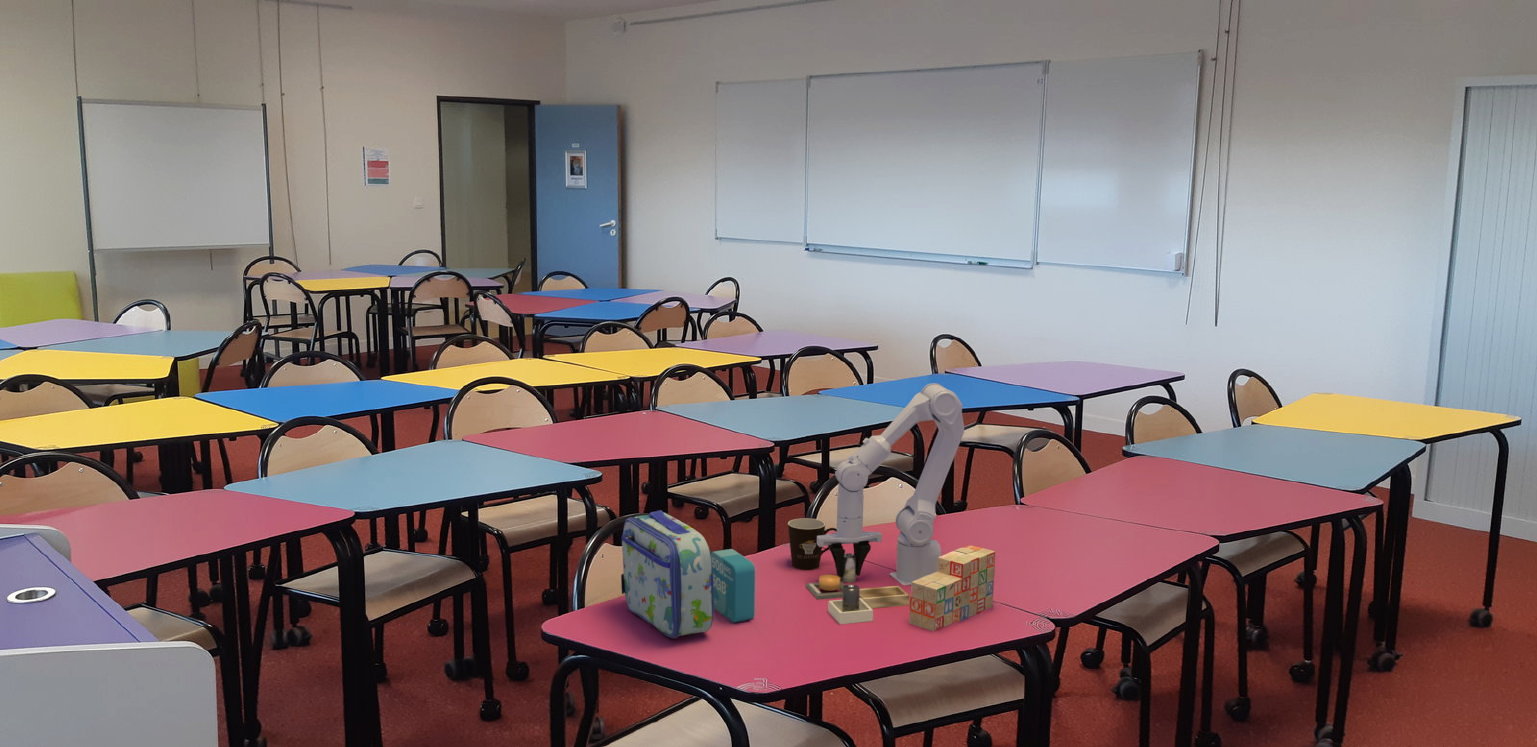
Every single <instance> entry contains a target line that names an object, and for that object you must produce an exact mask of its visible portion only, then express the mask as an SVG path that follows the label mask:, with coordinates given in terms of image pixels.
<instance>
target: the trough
mask: <svg viewBox="0 0 1537 747" xmlns="http://www.w3.org/2000/svg"><path fill="white" fill-rule="evenodd" d="M859 598H861V599H862V600H863V601H864V602H865V603H866V604H867V605H868V606H869V607H870V608H871V609H880V608H881V609H883V608H892V607H904V606H910V595H909V594H908V592H906V591H905V590H904V589H903V588H902V587H901V586H900V585H894V586H881V587H871V588H870V587H868V588H860V593H859Z"/></svg>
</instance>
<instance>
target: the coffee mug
mask: <svg viewBox="0 0 1537 747" xmlns="http://www.w3.org/2000/svg"><path fill="white" fill-rule="evenodd" d="M787 526H788V527H787V528H788V537H789V538H788V539H789V548H790V559H791V566H792V567H793V568H794V569H796V570H800V571H801V570H802V571H812V570H816V569H819V568H820V565H821V559H822V558H821V557H822V555H824V553H826V552H828V551H830V549H829V547H828V546H827V547H825V548H824V549H823V547H819V546H818V545H817V536H821V535H826V534H828V532H830V531H831V532H832V531H834V532H835V533H836V532H837V527H836V528H835V527H829V528H827V529H826V522H825V521H822V520H821V519H816V518H809V517H808V518H805V517H804V518H795V519H791V520H789V521H788V522H787Z"/></svg>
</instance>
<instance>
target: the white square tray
mask: <svg viewBox="0 0 1537 747" xmlns="http://www.w3.org/2000/svg"><path fill="white" fill-rule="evenodd" d="M827 605H828V609H827V610H828V611H827V612H828V613H829V614H830V616H832V617H833V619H834V620H835V621H836V622H837V623H838V624H839V625H849V624H857V623H868V622H874V609H873V608H870V607H869V606H868V605H867V604H866V603H865V602H864V601H863V600H862V599H861V598H859V611H849V612H842V599H836V600H833V599H832V600H829V601H828V604H827Z"/></svg>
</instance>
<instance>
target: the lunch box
mask: <svg viewBox="0 0 1537 747" xmlns="http://www.w3.org/2000/svg"><path fill="white" fill-rule="evenodd" d="M622 531H623V532H622V533H621V546H622V548H621V549H622V568H623V573H622V574H621V575H620V577H621V578H620V579H621V580H620V581H621V583H620V585H621V594H622V595H623V594H624V597H625V600H626V604H627V608H628V610H629V611H630V612H631V613H633V614H635V615H637V617H639V618H641V619H642V620H644V621H646V622H647V623H649V624H651V625H653V627H655V628H656V629H657V630H659V632H661V633H662V634H663V635H664V636H665V637H668V638H669V639H677V638H678V637H680V636H681V637H682V636H688V635H692V634H698V633H699V634H700V633H704V632H708V631H709V630H710V629H711V628H712V626H713V621H714V611H715V608H714V584H713V567H712V559H711V552H710V547H709V545H708V543H707V541H706V539H705V537H704V536H703V535H702V534H701V533H700V532H699V531H697V530H696V529H695V528H692V527H691V526H690V525H688V524H686V523H684V521H683V522H682V521H681V520H679V519H677V518H676V517H673V516H671V515H670V514H668V513H666V512H663V511H662V510H661V509H660V510H656V511H651V512H650V513H649V514H647V515H646V514H645V515H637V516H629V517H628V518H626V519H625V521H624V525H623V530H622Z"/></svg>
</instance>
